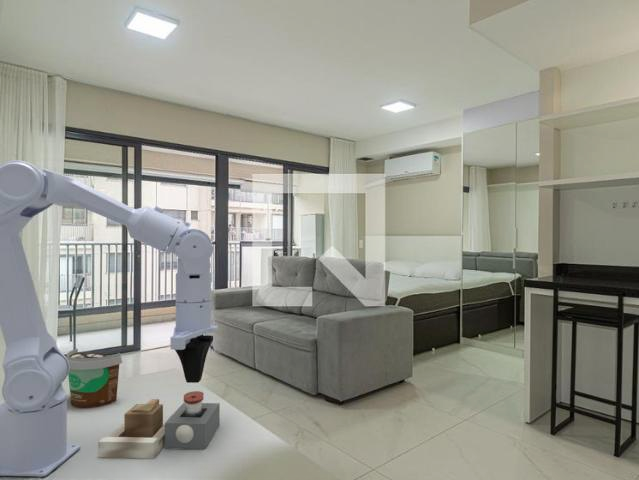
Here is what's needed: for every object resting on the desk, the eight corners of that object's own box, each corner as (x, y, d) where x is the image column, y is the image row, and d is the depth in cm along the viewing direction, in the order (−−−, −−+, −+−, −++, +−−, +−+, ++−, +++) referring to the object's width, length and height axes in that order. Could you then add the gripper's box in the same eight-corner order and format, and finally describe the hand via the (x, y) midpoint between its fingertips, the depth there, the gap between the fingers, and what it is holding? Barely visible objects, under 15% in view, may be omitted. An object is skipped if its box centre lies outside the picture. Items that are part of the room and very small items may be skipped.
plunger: (180, 427, 66) (180, 398, 66) (187, 418, 70) (187, 391, 70) (199, 427, 66) (199, 398, 66) (206, 419, 69) (206, 391, 69)
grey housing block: (164, 448, 64) (164, 423, 64) (183, 425, 72) (183, 402, 72) (204, 449, 64) (204, 424, 64) (219, 425, 72) (219, 403, 72)
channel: (98, 457, 61) (98, 441, 61) (151, 408, 79) (151, 395, 79) (153, 458, 61) (153, 442, 61) (194, 408, 79) (194, 396, 79)
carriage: (124, 444, 65) (124, 412, 65) (136, 433, 69) (136, 402, 69) (152, 445, 65) (152, 412, 65) (162, 433, 69) (162, 402, 69)
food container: (48, 406, 80) (48, 356, 80) (75, 395, 86) (75, 348, 86) (97, 414, 77) (97, 361, 77) (122, 401, 82) (122, 353, 82)
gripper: (203, 308, 60) (203, 398, 60) (228, 294, 75) (228, 367, 75) (156, 307, 61) (156, 397, 61) (190, 294, 75) (191, 367, 75)
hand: (193, 381), depth 68 cm, fingers closed
